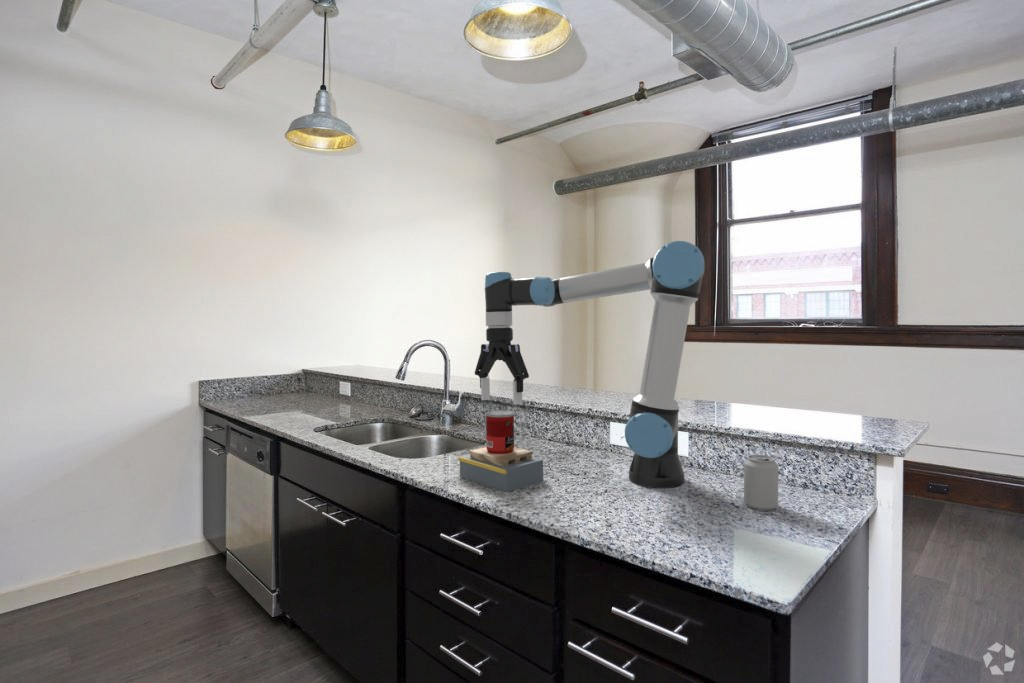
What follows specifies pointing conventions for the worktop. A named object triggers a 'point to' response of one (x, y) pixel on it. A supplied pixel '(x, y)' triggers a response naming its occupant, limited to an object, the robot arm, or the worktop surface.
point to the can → (761, 482)
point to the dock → (502, 473)
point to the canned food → (500, 432)
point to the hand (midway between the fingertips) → (501, 402)
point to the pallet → (501, 456)
